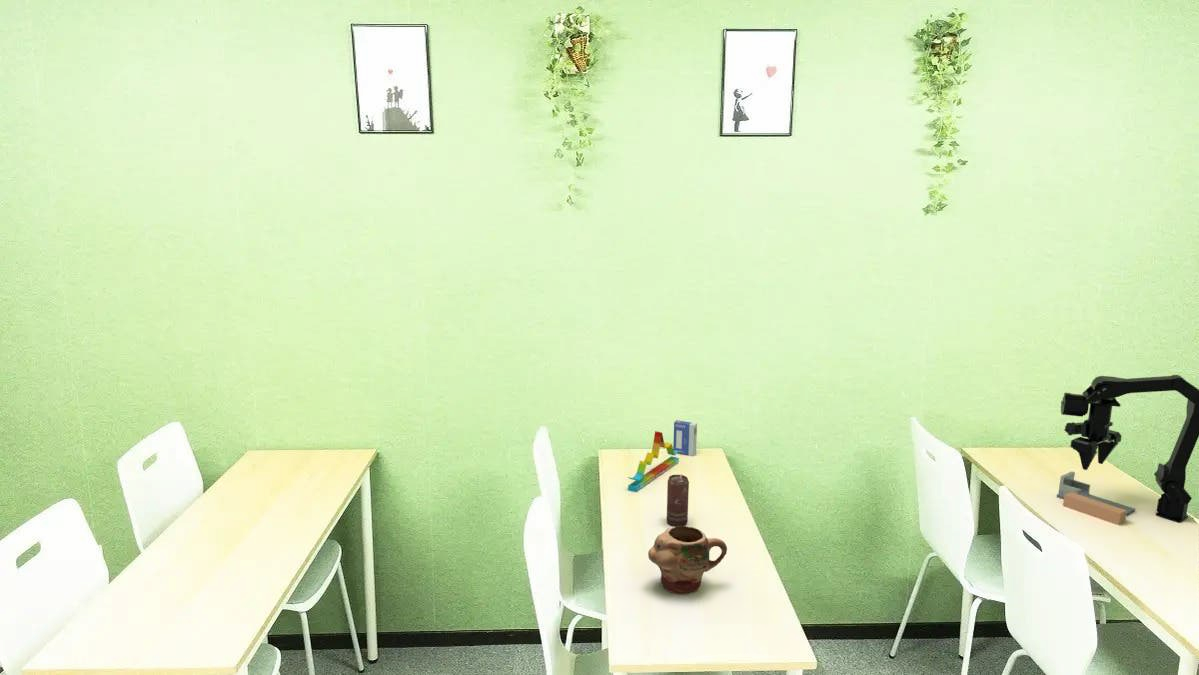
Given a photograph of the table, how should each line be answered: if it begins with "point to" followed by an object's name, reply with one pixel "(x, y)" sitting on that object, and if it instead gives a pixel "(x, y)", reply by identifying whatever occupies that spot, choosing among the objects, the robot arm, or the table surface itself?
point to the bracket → (1072, 485)
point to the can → (677, 500)
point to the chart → (658, 470)
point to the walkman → (685, 438)
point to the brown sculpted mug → (684, 558)
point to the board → (1129, 509)
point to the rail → (1094, 508)
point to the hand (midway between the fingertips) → (1092, 466)
